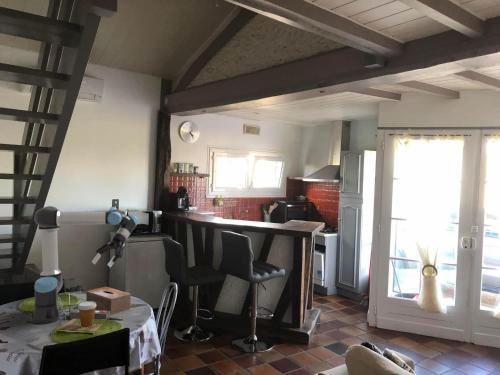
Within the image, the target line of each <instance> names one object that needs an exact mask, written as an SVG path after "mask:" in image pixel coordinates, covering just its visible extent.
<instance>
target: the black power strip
mask: <svg viewBox="0 0 500 375" xmlns="http://www.w3.org/2000/svg"><path fill="white" fill-rule="evenodd" d="M110 312H111V311H105V310H96V309H95V315H94V319H108V320H113V321H114V320H115V321H123V320H124V318H122V317H111V315H110ZM69 319H70V320H72V319H80V314H79V308H74V309H72V310H71V311H70V312H69Z"/></svg>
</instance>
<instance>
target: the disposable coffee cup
mask: <svg viewBox="0 0 500 375" xmlns="http://www.w3.org/2000/svg"><path fill="white" fill-rule="evenodd" d="M96 306H97V305H96V303H95V302H93V301H86V300H85V301H81V302H80V303H78V306H77V309H79V314H80V323H81V326H82V327H90V326H92V325H93V321H94V315H95V310H96V309H95V308H96Z"/></svg>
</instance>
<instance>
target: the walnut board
mask: <svg viewBox="0 0 500 375" xmlns="http://www.w3.org/2000/svg"><path fill="white" fill-rule="evenodd" d="M78 321H80V319H70V320H69V321H68V322H66V323H65V324H63V325H61V326H60V327H58V329H57V331H58V330H69V331H92V332H94V331H96V330H97V329H98V328H99V327H100V326H101V325H102V323H101V324H97V325H96V324H94V325H92V327H91V328H88V327H87V328H86V329H85V328H82V327H81V326H78V324H77V322H78Z"/></svg>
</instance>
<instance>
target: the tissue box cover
mask: <svg viewBox="0 0 500 375" xmlns="http://www.w3.org/2000/svg"><path fill="white" fill-rule="evenodd" d="M85 292H86V300H85V302H86V301H93V302H95V303H96V305H97V306H96V308H95V310H105V311H111V312H110V316H113V315H115V314H118V313H122V312H125V311H128V310H131V296H132V294H131V293H129V292H127V291H123V290H119V289H116V288H113V287H109V286H103V287H99V288H94V289H90V290H86V291H85Z"/></svg>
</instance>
